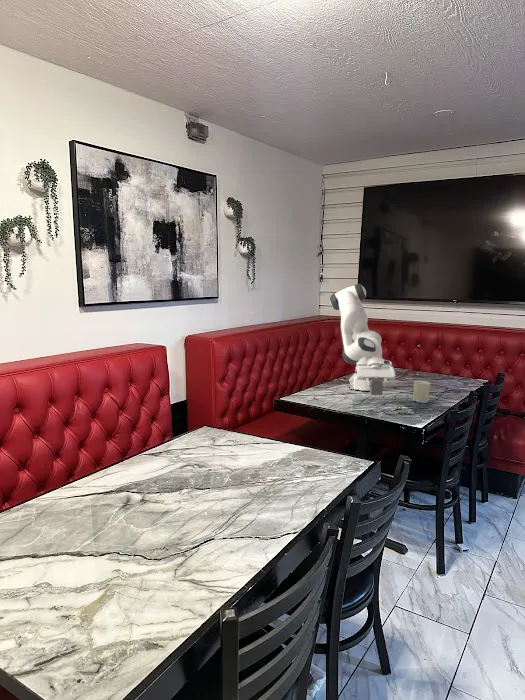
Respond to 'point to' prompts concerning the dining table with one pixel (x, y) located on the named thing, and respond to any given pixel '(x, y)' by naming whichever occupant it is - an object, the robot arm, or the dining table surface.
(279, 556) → the dining table surface
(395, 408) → the circuit board
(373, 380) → the block
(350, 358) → the robot arm
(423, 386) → the can
